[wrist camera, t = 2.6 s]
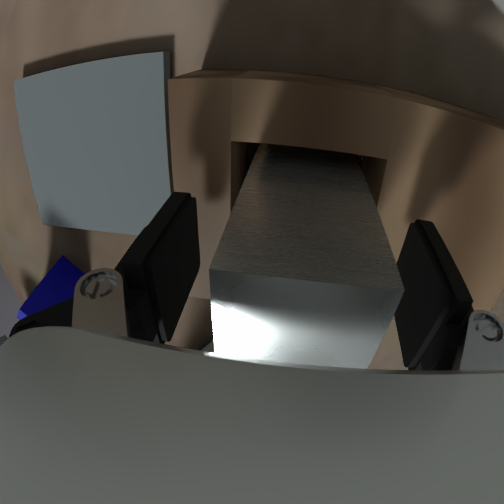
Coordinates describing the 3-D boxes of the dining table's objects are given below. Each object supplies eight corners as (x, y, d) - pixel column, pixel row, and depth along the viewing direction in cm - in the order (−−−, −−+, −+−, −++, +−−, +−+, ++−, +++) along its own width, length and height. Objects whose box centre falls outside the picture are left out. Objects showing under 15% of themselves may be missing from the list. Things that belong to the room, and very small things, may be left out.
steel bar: (349, 142, 14) (404, 290, 6) (336, 216, 16) (354, 390, 8) (264, 133, 14) (208, 269, 6) (259, 207, 17) (216, 376, 9)
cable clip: (68, 341, 29) (42, 386, 24) (35, 315, 28) (6, 357, 23) (108, 291, 23) (72, 351, 18) (63, 254, 21) (19, 309, 17)
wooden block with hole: (515, 126, 11) (559, 154, 8) (461, 277, 17) (481, 324, 14) (200, 69, 13) (167, 79, 10) (205, 248, 19) (185, 296, 16)
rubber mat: (170, 50, 12) (163, 51, 12) (180, 231, 18) (175, 239, 18) (22, 78, 13) (13, 81, 13) (49, 218, 19) (43, 225, 19)
